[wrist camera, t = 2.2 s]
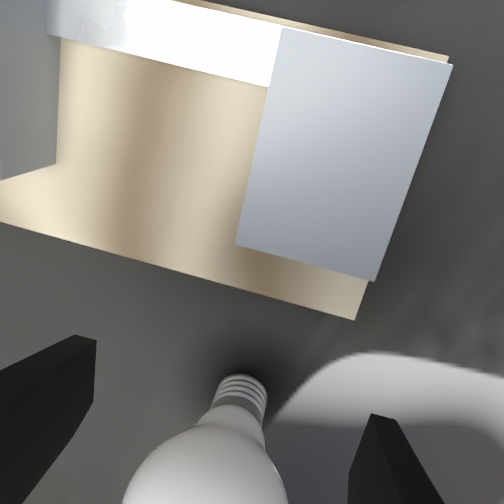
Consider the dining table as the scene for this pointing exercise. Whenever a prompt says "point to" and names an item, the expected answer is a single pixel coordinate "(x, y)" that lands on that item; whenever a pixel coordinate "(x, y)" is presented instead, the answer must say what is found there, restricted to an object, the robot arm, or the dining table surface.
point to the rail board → (212, 140)
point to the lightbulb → (214, 456)
